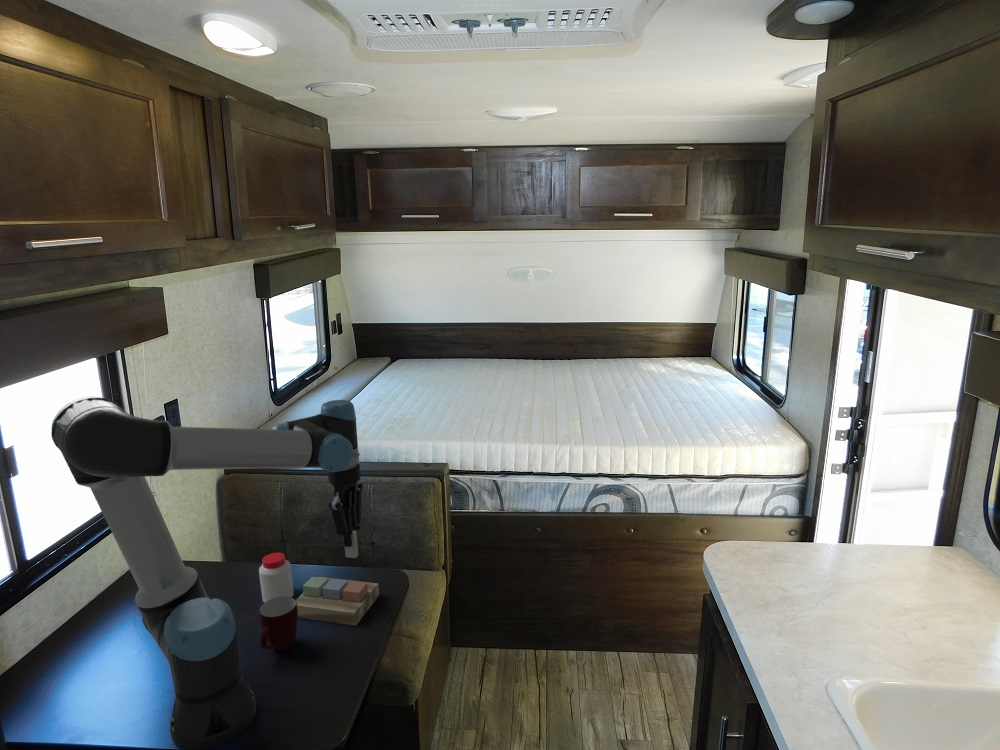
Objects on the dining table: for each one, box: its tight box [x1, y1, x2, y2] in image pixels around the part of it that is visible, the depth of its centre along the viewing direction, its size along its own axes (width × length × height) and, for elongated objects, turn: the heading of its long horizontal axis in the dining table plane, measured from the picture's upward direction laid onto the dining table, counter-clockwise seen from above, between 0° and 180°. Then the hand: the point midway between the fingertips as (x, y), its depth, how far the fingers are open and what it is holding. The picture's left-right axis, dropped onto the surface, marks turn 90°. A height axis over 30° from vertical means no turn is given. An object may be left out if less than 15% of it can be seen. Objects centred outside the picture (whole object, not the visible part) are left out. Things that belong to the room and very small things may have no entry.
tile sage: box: [302, 576, 328, 598], centre depth 160 cm, size 4×4×3 cm
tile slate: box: [323, 578, 347, 601], centre depth 158 cm, size 4×4×3 cm
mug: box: [258, 597, 298, 652], centre depth 142 cm, size 11×8×10 cm
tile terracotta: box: [343, 580, 368, 603], centre depth 157 cm, size 4×4×3 cm
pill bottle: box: [258, 552, 295, 604], centre depth 163 cm, size 8×8×11 cm
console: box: [295, 576, 380, 626], centre depth 159 cm, size 13×17×3 cm
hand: (352, 556), depth 155 cm, fingers closed
